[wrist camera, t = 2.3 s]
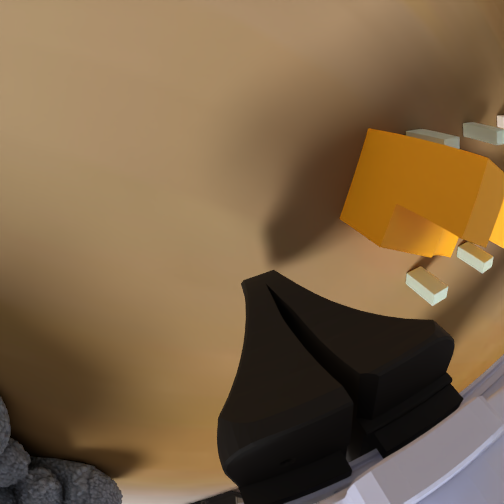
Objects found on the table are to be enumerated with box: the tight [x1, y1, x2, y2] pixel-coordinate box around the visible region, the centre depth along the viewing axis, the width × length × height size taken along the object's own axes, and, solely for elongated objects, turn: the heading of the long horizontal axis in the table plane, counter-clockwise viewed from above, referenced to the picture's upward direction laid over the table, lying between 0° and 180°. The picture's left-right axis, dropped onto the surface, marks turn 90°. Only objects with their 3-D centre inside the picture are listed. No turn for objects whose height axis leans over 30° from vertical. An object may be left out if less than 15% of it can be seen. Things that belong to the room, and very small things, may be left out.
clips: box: [457, 122, 504, 273], centre depth 14 cm, size 9×1×2 cm, turn 13°
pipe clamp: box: [340, 128, 504, 258], centre depth 12 cm, size 12×4×6 cm, turn 74°
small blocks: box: [406, 129, 460, 306], centre depth 14 cm, size 9×1×2 cm, turn 13°
